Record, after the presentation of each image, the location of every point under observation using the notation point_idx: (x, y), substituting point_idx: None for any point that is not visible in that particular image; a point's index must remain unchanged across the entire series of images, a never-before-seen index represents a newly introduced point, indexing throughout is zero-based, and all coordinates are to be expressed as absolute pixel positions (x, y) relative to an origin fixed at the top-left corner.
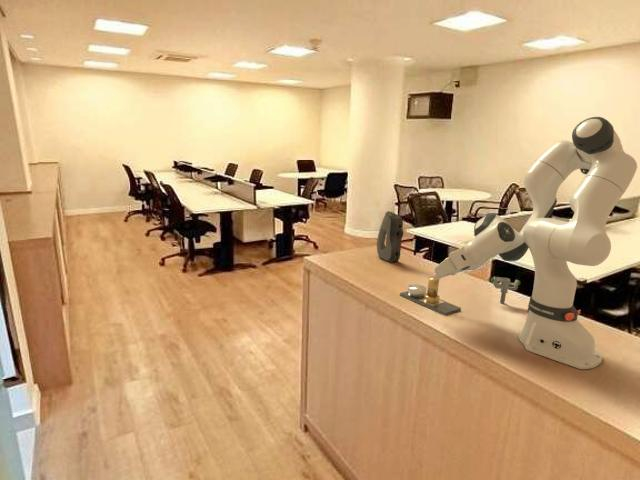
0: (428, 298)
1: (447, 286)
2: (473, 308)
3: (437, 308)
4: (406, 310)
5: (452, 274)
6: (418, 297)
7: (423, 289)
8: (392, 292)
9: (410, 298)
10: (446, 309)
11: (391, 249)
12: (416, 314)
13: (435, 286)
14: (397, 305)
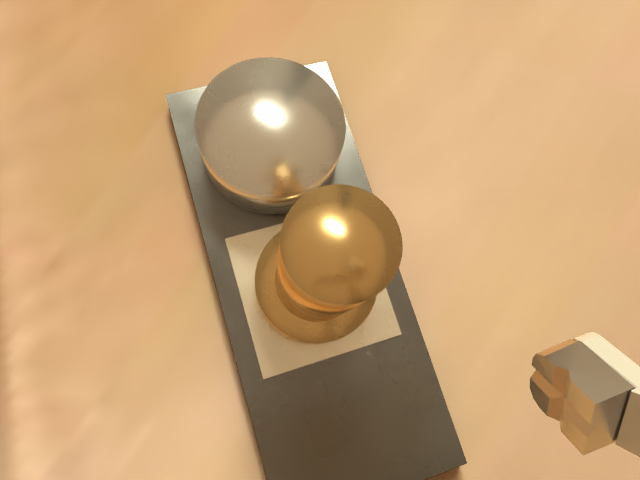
0: (262, 310)
1: (594, 56)
2: None
3: (270, 435)
4: (34, 366)
5: (551, 408)
6: (247, 208)
7: (298, 174)
8: (148, 46)
9: (192, 191)
10: (332, 470)
11: None
12: (63, 457)
13: (322, 310)
14: (28, 262)
